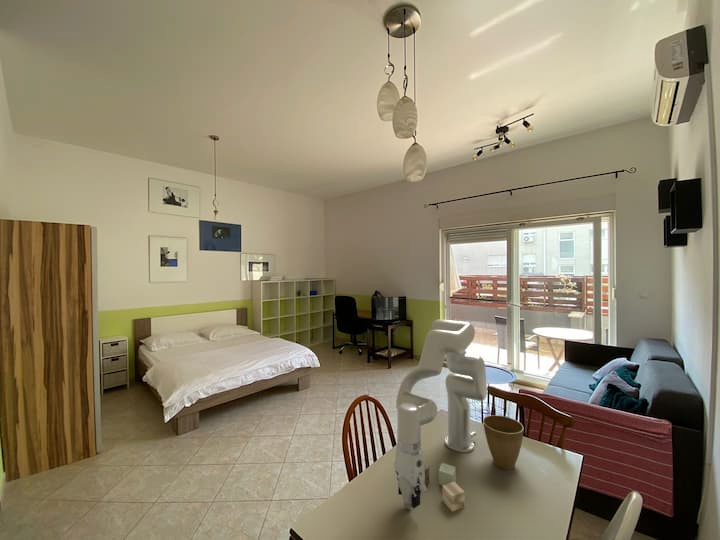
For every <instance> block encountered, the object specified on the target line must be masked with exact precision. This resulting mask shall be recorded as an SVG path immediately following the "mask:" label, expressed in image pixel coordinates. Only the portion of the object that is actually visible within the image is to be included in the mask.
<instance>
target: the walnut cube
mask: <svg viewBox="0 0 720 540" xmlns="http://www.w3.org/2000/svg"><path fill="white" fill-rule="evenodd" d="M424 467H425V483H424V484H425V485H426V484H427V483H429V481H430V466H428V465H426V464H425V463H424Z"/></svg>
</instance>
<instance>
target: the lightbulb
mask: <svg viewBox="0 0 720 540" xmlns="http://www.w3.org/2000/svg"><path fill="white" fill-rule="evenodd" d="M398 482H399V488H400V490H401V492H402V494H401V496H402V500H403V506H404V509H406V510H411V509H412V506H411V495H412V494H413V492H412V487H411V485H410V484H409V483H408V482H407V481H406V479H405V478H403V477H400V479H399V481H398ZM415 490H418V488H417V486H416V487H415Z"/></svg>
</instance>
